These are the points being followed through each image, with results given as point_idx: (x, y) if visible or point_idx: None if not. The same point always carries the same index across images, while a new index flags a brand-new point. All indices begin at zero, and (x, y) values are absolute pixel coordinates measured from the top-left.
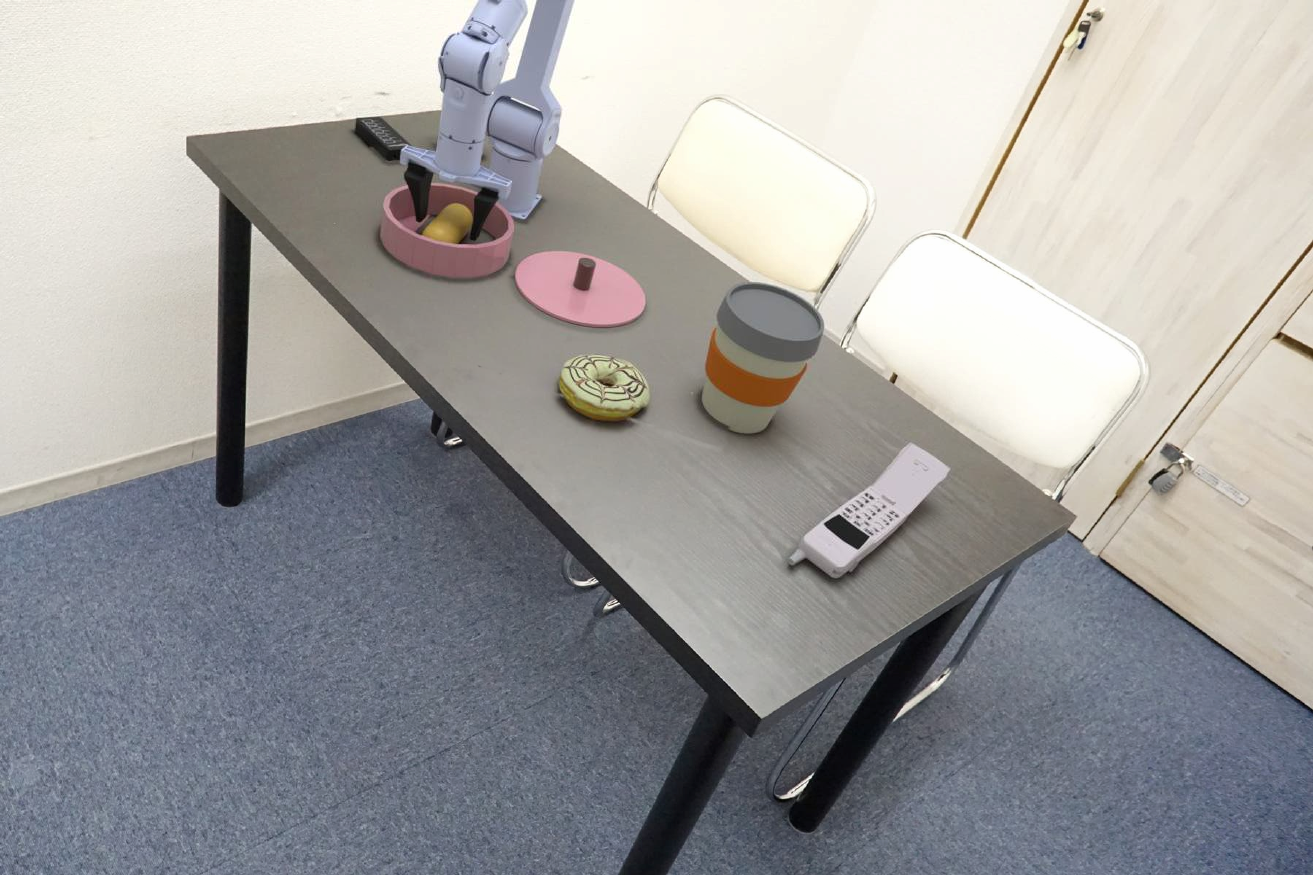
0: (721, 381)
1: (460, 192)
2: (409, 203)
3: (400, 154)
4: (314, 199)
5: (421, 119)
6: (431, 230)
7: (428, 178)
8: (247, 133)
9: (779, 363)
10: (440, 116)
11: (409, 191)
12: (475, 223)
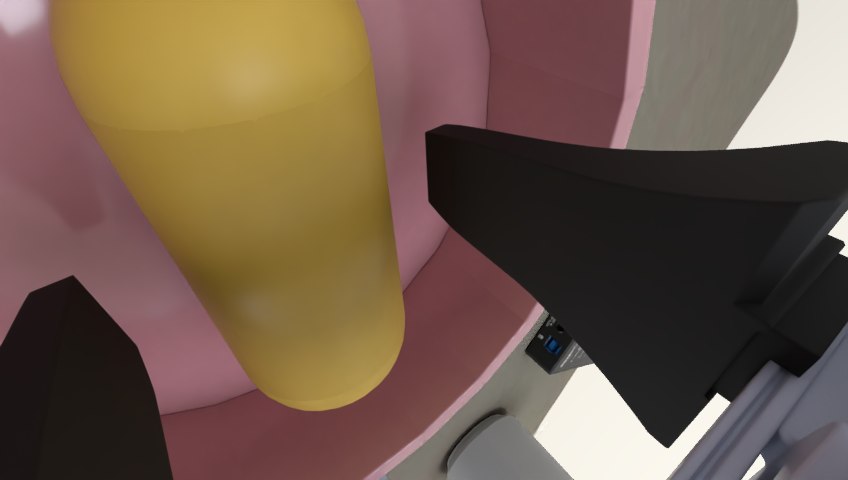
0: None
1: (415, 421)
2: None
3: (555, 341)
4: (663, 34)
5: (541, 412)
6: None
7: (644, 335)
8: (727, 145)
9: None
10: (557, 462)
11: None
12: (3, 425)
